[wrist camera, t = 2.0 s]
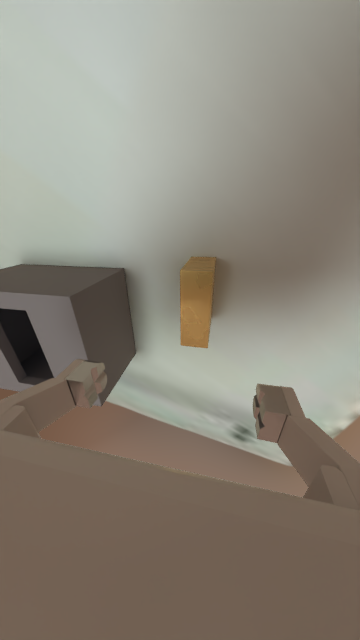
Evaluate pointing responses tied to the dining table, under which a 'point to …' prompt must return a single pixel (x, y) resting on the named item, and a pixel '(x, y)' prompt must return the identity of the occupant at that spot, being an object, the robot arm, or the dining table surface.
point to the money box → (62, 323)
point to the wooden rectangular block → (196, 300)
